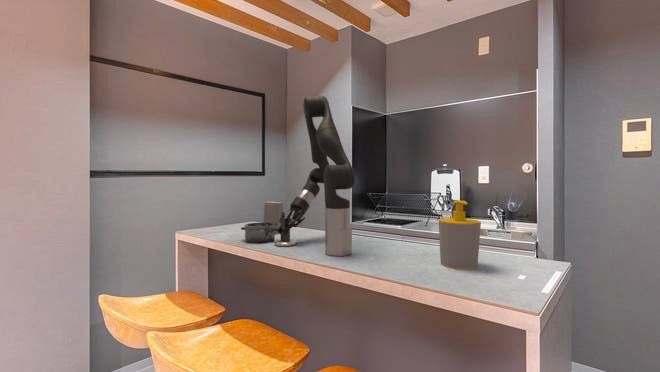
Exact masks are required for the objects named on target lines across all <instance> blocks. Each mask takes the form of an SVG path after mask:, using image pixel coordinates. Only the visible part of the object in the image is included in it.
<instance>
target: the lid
mask: <svg viewBox="0 0 660 372" xmlns="http://www.w3.org/2000/svg"><path fill="white" fill-rule="evenodd" d="M289 219H290V218H286V217H285V218H280V227H281V234H280V239H278V240H277V239H276V240H275V241H273V242H274V243H273V244H274V246H276V247H277V246H278V247H290V246H295V245H297V240H295V239H291V229H290V230H289V232H288V233H287V234H286V235H285V234H284V233H283V232H282V231H283V229H284V228H285V227H286V225H288V222H289Z"/></svg>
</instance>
